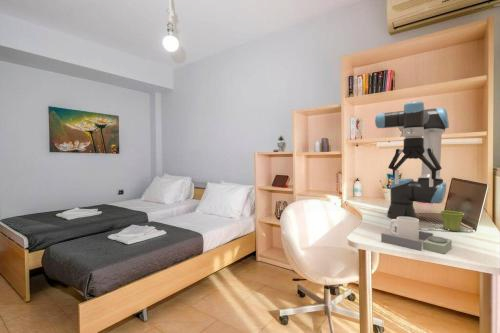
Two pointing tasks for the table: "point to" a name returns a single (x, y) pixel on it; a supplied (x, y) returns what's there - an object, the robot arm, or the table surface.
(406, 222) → the cup
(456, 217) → the plant pot
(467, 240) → the table surface
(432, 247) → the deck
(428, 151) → the robot arm
